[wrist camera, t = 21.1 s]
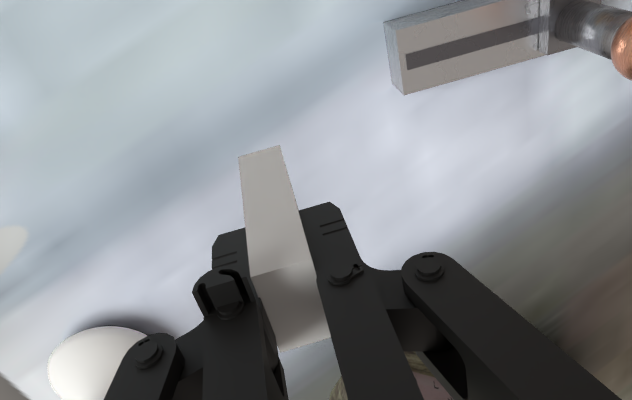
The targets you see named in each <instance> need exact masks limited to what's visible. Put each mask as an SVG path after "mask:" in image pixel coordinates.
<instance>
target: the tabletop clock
mask: <svg viewBox="0 0 632 400" xmlns="http://www.w3.org/2000/svg"><path fill="white" fill-rule="evenodd" d="M404 354H405V356H406V358H407V361H408V363H409V365H410V368H411V370H412V372H413V375H414V377H415V379H416V382H417V384H418V386H419V389H420V391H421V393H422V396H423V398H424V400H454V399H453V398H452V397H451V396H450V395H449V393H448V392H447V391H446V390H445V389H444V387H443V386H442V385H441V384H440V383H439V381H438V380H437V379H436V378H435V377H434V375H433V374H432V373H431V372H430V371H429V369H428V368H427V367H426V366H425V364H424V363H423V362H422V361H421V360H420V358H419V357H418V356H417V354H416V352H404ZM329 400H348V397H347V393H346V390H345V386H344V382H343V379H342V376H341V377H340V379H339V381H338V382H337V384H336V385H335V387H334V388H333V390H332V391H331V394H330V399H329Z"/></svg>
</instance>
